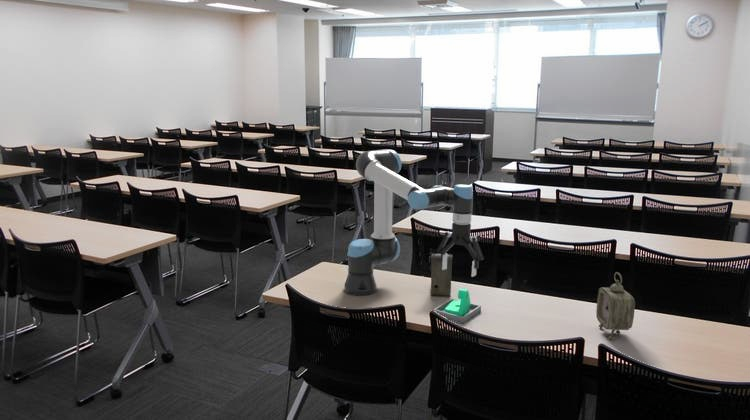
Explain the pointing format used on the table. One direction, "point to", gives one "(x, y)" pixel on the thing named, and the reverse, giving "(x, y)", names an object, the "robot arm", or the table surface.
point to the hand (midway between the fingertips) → (458, 272)
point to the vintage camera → (441, 276)
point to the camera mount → (459, 304)
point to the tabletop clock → (615, 308)
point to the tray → (471, 312)
